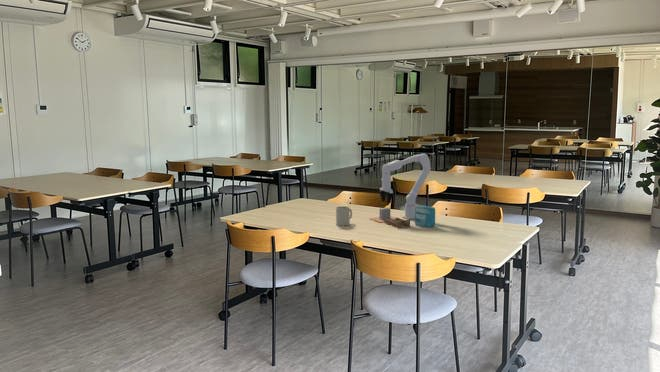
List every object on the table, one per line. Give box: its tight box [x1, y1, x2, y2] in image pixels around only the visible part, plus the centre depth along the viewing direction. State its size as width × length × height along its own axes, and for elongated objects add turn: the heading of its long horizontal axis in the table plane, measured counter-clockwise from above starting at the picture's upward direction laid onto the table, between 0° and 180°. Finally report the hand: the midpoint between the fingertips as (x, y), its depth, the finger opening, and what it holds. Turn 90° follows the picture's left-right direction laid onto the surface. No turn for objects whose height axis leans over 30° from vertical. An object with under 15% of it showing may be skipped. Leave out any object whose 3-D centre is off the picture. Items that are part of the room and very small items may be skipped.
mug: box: [335, 205, 353, 227], centre depth 331 cm, size 12×8×11 cm
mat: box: [369, 215, 397, 224], centre depth 343 cm, size 16×13×1 cm
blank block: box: [379, 207, 391, 220], centre depth 342 cm, size 6×4×7 cm, turn 112°
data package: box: [414, 205, 436, 228], centre depth 323 cm, size 12×4×12 cm, turn 49°
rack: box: [383, 217, 411, 228], centre depth 328 cm, size 10×16×4 cm, turn 22°
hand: (386, 202), depth 348 cm, fingers open, 7 cm apart
